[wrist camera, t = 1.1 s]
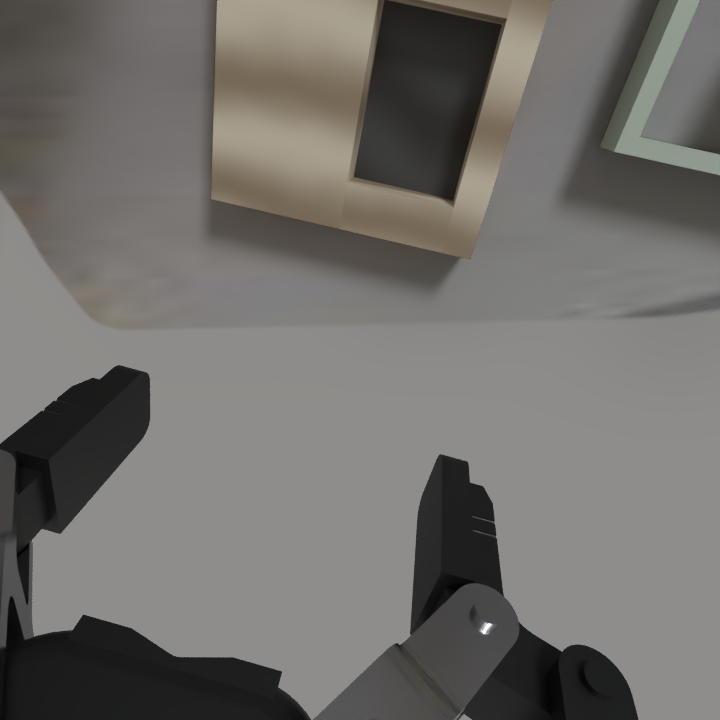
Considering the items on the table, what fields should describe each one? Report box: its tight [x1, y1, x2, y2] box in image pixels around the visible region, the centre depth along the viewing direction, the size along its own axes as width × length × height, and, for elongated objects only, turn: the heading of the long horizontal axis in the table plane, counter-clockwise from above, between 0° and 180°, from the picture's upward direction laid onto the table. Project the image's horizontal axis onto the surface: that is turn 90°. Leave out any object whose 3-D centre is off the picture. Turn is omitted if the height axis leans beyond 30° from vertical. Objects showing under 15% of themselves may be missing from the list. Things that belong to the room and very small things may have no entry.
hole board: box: [211, 0, 553, 259], centre depth 30 cm, size 16×18×3 cm
